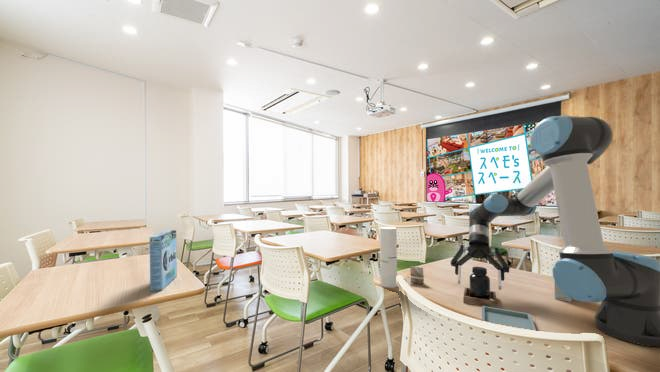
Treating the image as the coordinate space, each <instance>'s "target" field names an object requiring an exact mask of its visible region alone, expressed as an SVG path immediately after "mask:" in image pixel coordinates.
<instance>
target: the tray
mask: <svg viewBox="0 0 660 372" xmlns="http://www.w3.org/2000/svg"><path fill="white" fill-rule="evenodd" d="M482 321H487V322H491V323H495V324H501V325H506V326H512V327H517V328H524V329H530V330H536V331H537V328H536V326H535V323H534V321H533V317H532V315H531V314H530V313H527V312H522V311H517V310H510V309H504V308H499V307H497V308H494V307H488V306H482V305H481V322H482Z"/></svg>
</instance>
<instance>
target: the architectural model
mask: <svg viewBox="0 0 660 372" xmlns="http://www.w3.org/2000/svg"><path fill="white" fill-rule="evenodd" d="M409 267H410V273H409V274H407V275H406V278H410V283H417V284H418V285H419V284H422V285H423V286H424V284H425V275H424V267H421V266H409Z"/></svg>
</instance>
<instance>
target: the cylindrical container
mask: <svg viewBox="0 0 660 372" xmlns="http://www.w3.org/2000/svg"><path fill="white" fill-rule="evenodd" d="M397 239H398V238H397V227H396V226H381V227H379V259H380V260H379V261H380V262H379V263H380V264H379V265H380V266H379V269H380V271H379V272H380V278H379V279H380V286H381V287H383V288H396V287H398V282H397V283H396V276H397V277H398V263H397V262H398V256H397V255H398V254H397V252H398V251H397V250H398V249H397V244H398V243H397Z"/></svg>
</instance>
